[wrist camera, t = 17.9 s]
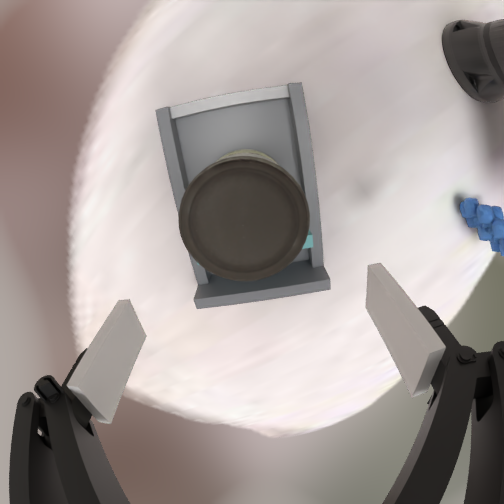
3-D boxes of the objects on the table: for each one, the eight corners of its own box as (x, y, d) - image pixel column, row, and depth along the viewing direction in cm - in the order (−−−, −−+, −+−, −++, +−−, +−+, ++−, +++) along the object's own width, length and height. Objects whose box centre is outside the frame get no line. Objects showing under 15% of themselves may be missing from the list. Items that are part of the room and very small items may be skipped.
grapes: (489, 217, 35) (532, 242, 24) (471, 244, 38) (512, 274, 27) (465, 174, 33) (516, 194, 22) (445, 204, 35) (494, 231, 24)
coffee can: (297, 212, 35) (323, 260, 22) (222, 237, 37) (208, 295, 24) (272, 136, 31) (287, 137, 18) (193, 165, 32) (157, 186, 20)
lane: (163, 111, 30) (144, 107, 24) (297, 86, 29) (307, 76, 23) (204, 282, 40) (196, 309, 34) (319, 265, 39) (330, 289, 33)
